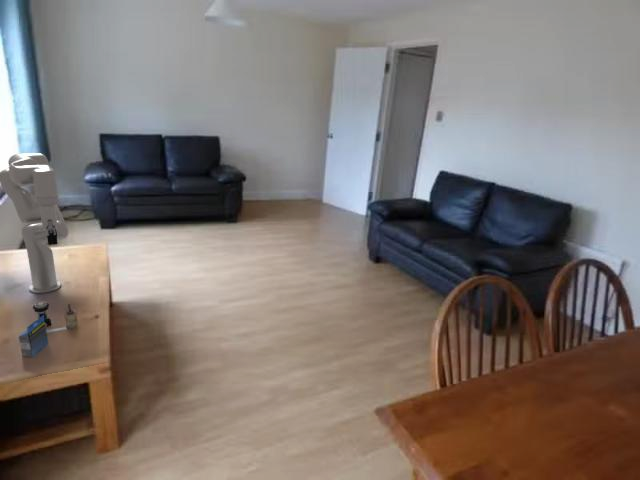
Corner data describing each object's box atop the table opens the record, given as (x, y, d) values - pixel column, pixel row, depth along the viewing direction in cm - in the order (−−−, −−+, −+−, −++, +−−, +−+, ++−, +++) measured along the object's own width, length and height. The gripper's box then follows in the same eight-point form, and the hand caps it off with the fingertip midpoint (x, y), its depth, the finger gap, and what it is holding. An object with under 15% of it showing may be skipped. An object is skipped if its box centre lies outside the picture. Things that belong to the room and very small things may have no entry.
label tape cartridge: (38, 342, 156) (33, 313, 152) (48, 343, 156) (44, 314, 152) (21, 356, 147) (16, 326, 143) (32, 357, 147) (27, 327, 143)
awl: (66, 325, 168) (63, 303, 164) (77, 323, 170) (75, 301, 166) (66, 330, 164) (63, 307, 161) (78, 328, 166) (75, 305, 163)
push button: (34, 332, 162) (30, 309, 158) (30, 326, 165) (26, 304, 162) (53, 326, 166) (50, 304, 163) (49, 321, 170) (46, 299, 166)
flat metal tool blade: (39, 332, 162) (39, 331, 162) (77, 325, 169) (77, 324, 169) (39, 334, 160) (39, 334, 160) (78, 327, 167) (78, 326, 167)
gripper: (36, 195, 171) (42, 234, 176) (35, 206, 157) (41, 248, 163) (57, 194, 175) (62, 233, 180) (58, 205, 161) (64, 246, 167)
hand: (52, 240), depth 172 cm, fingers open, 9 cm apart
